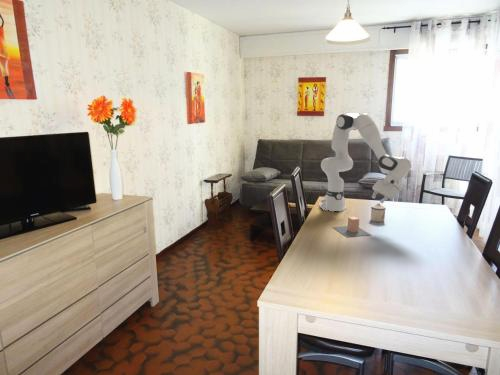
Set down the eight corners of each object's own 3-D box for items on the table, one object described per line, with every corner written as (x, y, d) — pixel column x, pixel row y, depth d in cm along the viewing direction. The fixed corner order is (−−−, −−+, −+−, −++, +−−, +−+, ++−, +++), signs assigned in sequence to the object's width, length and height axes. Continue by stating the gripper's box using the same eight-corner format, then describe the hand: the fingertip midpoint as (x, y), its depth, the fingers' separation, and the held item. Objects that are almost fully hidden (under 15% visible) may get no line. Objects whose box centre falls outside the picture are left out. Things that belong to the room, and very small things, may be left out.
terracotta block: (347, 229, 213) (348, 217, 211) (354, 229, 213) (354, 216, 212) (351, 232, 208) (352, 219, 206) (358, 231, 209) (359, 219, 207)
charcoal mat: (332, 227, 217) (332, 227, 217) (355, 225, 221) (355, 225, 221) (346, 237, 200) (346, 236, 200) (371, 235, 204) (371, 234, 204)
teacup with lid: (384, 222, 227) (386, 205, 224) (370, 221, 230) (371, 204, 227) (384, 217, 238) (385, 201, 235) (370, 216, 241) (371, 200, 238)
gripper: (378, 175, 220) (364, 192, 221) (397, 183, 200) (382, 202, 202) (385, 180, 221) (371, 198, 223) (404, 188, 202) (389, 207, 203)
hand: (376, 200), depth 212 cm, fingers open, 8 cm apart
